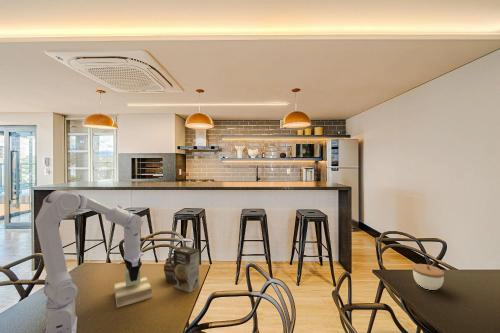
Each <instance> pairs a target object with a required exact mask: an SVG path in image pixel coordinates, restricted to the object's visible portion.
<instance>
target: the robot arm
mask: <svg viewBox="0 0 500 333" xmlns="http://www.w3.org/2000/svg"><path fill="white" fill-rule="evenodd" d="M77 209H78V210H83V209H88V210H90V211H93V212H96V213H98V214H101V215H103V216H104V217H105V220H106V221H109V222H111V223H114V224H116V225H119V226H121V227H122V228H123V245H124V246H123V247H124V248H123V250H124V253H123V254H124V255H123V261H124V263H125V267H126V268H127V269H128V271H129V276H130V280H131V282H132V281H136V280H137V277H138V272H139V269H140V270H141V266H142V265H143V263H142V261H139V260H140V258H141V257H142V256H144V252H142V251H141V229H142V226H143V223H144V220H143V219H142V217H141V216H140V215H138V214H135V213H133V211H132V210H126V209H124V208H123V206H121V205H112V206H108V205H106V204H104V203H102V202H100V201H98V200H96V199H94V198H92V197H90V196H87V195H82V194H78V193H76V192H72V191H65V190H61V189H58V190H54V191H52V192H51V193H49V194H48V195H47V196H46V197H45V198H44V199H43V201H42V205H41V207H40V210H39V212H38V213H37V216H36V218H35V221H34V222H35V228H36V231H37V236H38V241H39V244H40V249H41V250H40V251H41V254H42V260H43V264H44V268H45V273H46V276H45V277H44V280H45V283H44V287H43V294H44V295H45V296H46V297H47V299H46V300H47V301H46V303H45V308H46V310H45V314H46V315H45V316H46V318H45V319H46V327H45V333H77V327H78V326H77V325H78V316H76V297H77V295H78V293H79V292H78V291H79V289H78V286H77V285H76V284H75V283H74V282H73V278H72V277H71V274H70V273H69V271H68V267H67V263H66V257H65V253H64V248H63V242H62V238H61V233H60V228H59V224H60V223H61V221H63V219H64V218H65V217H67V216H68V215H70V214H72V213H73V212H74V211H76V210H77ZM126 268H125V269H126Z"/></svg>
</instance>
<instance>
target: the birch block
mask: <svg viewBox="0 0 500 333" xmlns="http://www.w3.org/2000/svg"><path fill="white" fill-rule="evenodd" d="M113 285H114V286H113V288H114V289H113V294H114V298H115V303H116V304H115V305H116V308H122V307H124V306H128V305H130V304H134V303H138V302H141V301H145V300H147V299H148V300H149V299H150V298H152V297H153V292H152V286H151V284H150V282H149V279H148V278H147V276H142V277H141V276H140V283H137V284H134V285H130V286H126V283H125V280H124V281H121V282H117V283H114V284H113Z"/></svg>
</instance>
